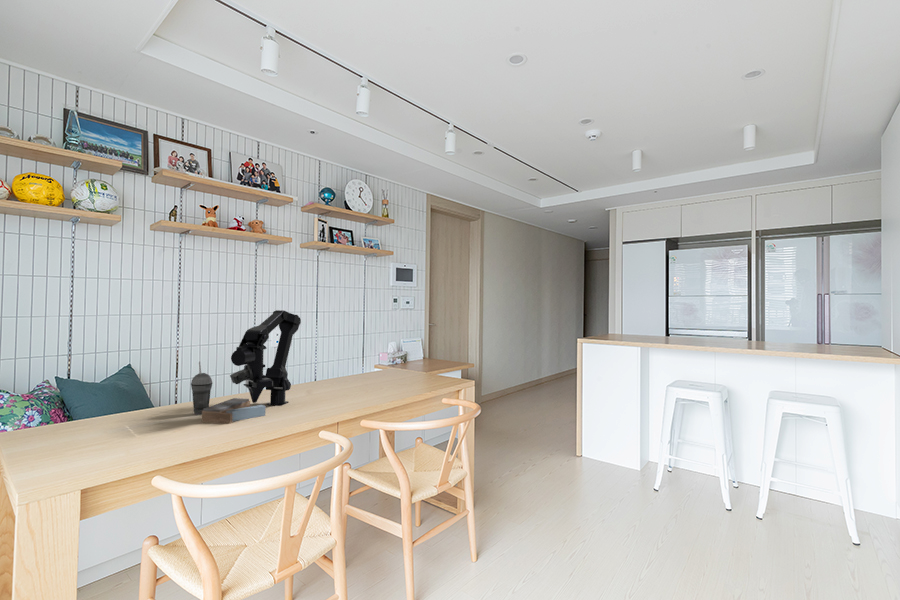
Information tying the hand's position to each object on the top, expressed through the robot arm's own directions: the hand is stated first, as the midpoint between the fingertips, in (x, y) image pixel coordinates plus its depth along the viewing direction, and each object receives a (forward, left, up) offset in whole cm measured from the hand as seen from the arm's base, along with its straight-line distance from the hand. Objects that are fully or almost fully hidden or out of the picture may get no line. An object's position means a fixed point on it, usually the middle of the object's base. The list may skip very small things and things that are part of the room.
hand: (254, 402), depth 164 cm
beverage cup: (+4, -20, -5) cm, 20 cm away
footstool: (+5, -6, -4) cm, 9 cm away
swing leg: (+6, +1, -4) cm, 8 cm away
